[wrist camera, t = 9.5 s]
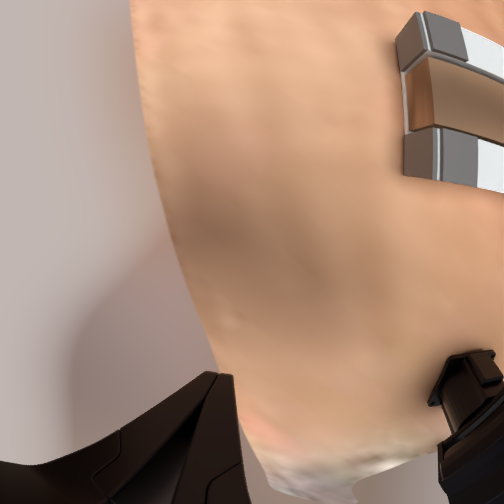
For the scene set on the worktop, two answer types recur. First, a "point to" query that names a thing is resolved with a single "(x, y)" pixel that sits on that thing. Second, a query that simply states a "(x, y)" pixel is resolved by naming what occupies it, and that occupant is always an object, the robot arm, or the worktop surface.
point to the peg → (455, 101)
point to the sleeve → (443, 140)
